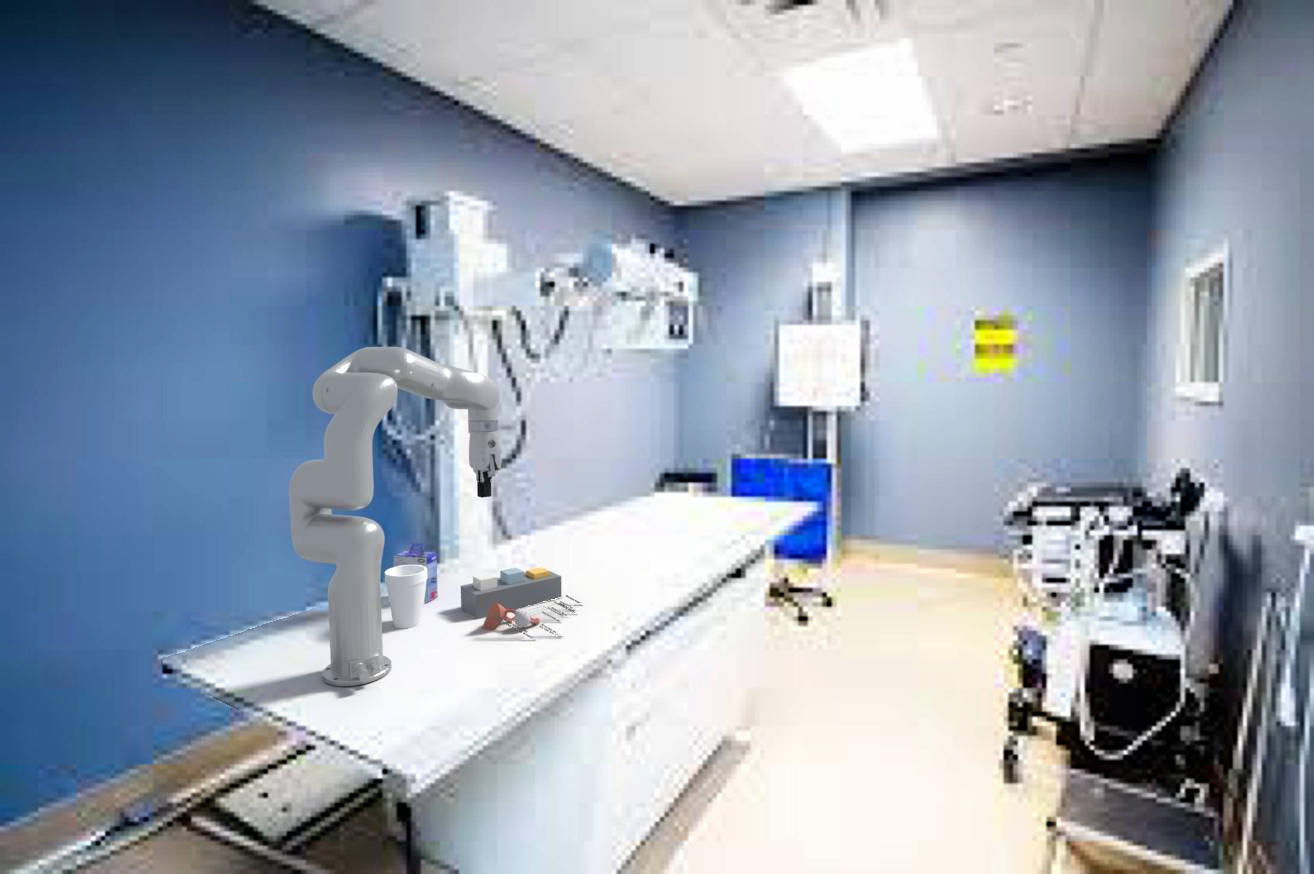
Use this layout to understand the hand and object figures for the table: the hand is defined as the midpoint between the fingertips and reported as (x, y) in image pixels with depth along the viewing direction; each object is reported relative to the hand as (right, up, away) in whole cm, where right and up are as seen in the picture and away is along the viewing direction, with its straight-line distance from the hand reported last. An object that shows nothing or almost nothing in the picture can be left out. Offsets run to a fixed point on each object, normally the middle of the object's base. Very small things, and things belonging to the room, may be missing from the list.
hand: (484, 496), depth 178 cm
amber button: (+14, -24, +2) cm, 28 cm away
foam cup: (-14, -29, -16) cm, 36 cm away
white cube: (+2, -23, -7) cm, 25 cm away
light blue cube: (+8, -23, -3) cm, 24 cm away
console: (+8, -28, -2) cm, 29 cm away
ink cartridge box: (-18, -27, +1) cm, 33 cm away
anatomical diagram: (+18, -30, -13) cm, 37 cm away
